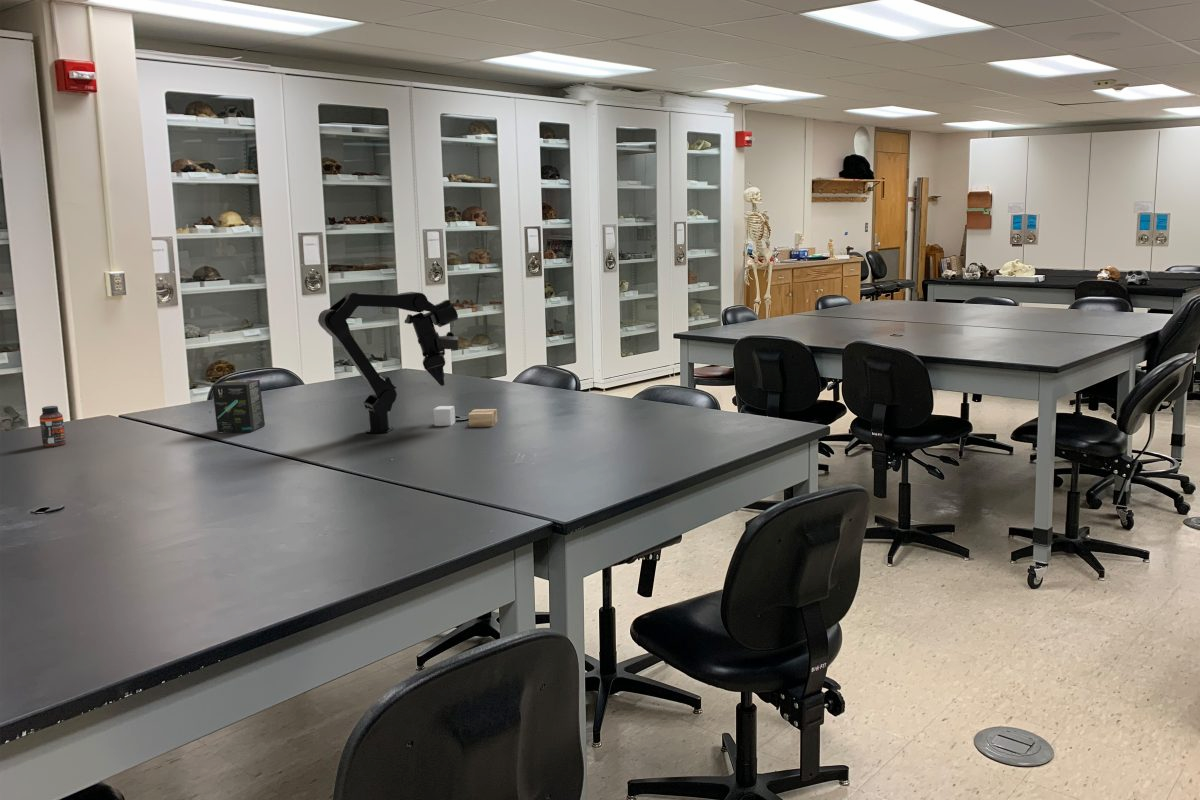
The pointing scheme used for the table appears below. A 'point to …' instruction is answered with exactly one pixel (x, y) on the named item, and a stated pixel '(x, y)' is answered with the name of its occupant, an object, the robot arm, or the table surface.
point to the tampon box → (238, 406)
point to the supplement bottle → (52, 427)
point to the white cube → (444, 416)
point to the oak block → (482, 417)
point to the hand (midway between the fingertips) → (442, 381)
